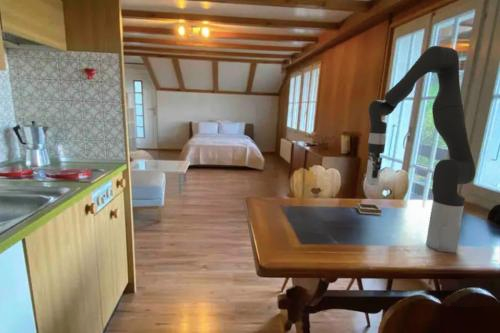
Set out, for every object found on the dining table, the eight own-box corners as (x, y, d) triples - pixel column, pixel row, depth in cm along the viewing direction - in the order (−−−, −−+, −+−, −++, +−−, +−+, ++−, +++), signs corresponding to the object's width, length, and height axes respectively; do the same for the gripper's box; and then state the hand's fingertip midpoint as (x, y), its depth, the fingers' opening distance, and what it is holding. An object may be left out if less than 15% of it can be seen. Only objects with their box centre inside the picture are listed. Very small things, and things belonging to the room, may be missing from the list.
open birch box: (380, 214, 136) (381, 210, 136) (360, 213, 138) (361, 208, 137) (375, 209, 145) (376, 204, 144) (356, 207, 146) (357, 203, 145)
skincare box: (378, 186, 135) (381, 161, 133) (369, 185, 135) (372, 161, 133) (373, 183, 141) (376, 159, 139) (365, 182, 141) (367, 159, 139)
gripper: (389, 144, 127) (385, 180, 130) (380, 141, 141) (376, 173, 144) (372, 143, 128) (368, 179, 131) (364, 141, 142) (361, 173, 145)
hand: (372, 176), depth 138 cm, fingers closed on skincare box, 6 cm apart
